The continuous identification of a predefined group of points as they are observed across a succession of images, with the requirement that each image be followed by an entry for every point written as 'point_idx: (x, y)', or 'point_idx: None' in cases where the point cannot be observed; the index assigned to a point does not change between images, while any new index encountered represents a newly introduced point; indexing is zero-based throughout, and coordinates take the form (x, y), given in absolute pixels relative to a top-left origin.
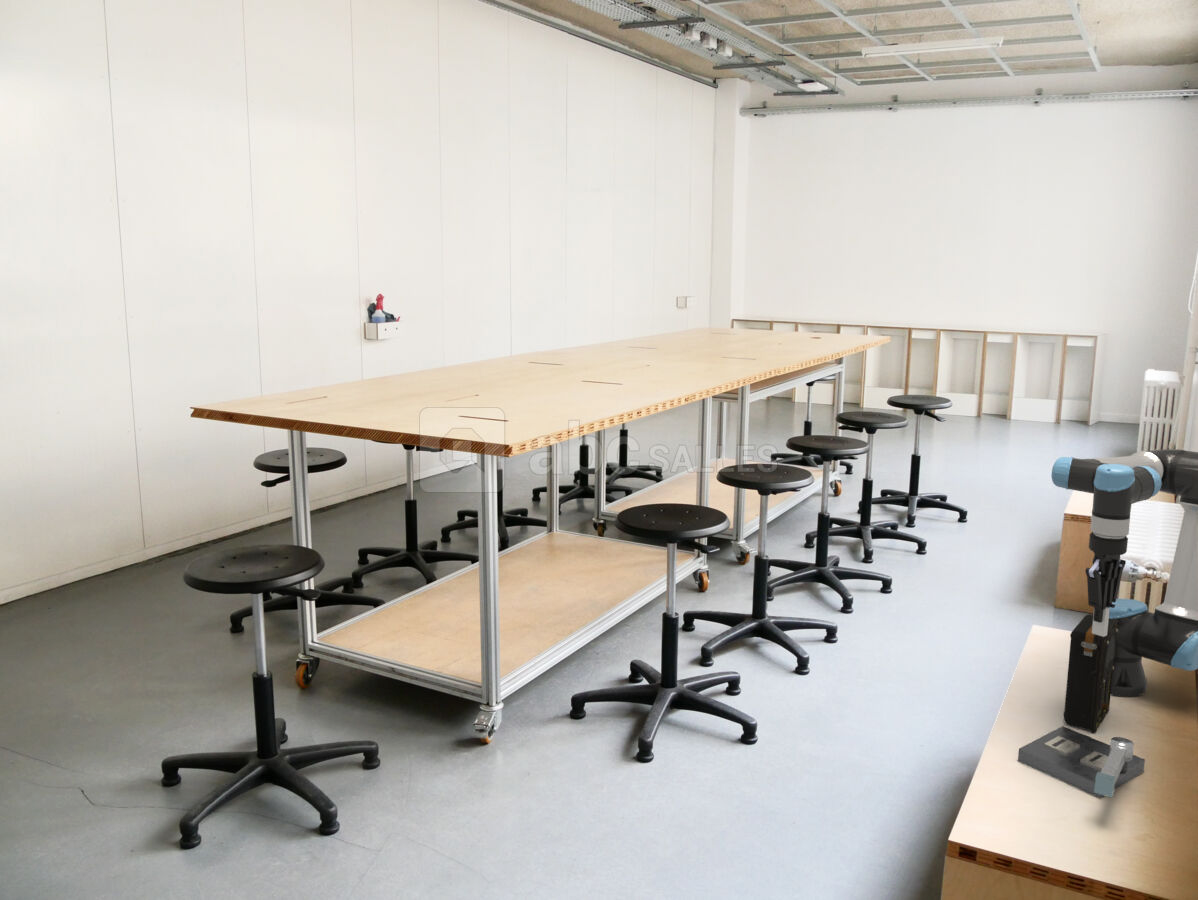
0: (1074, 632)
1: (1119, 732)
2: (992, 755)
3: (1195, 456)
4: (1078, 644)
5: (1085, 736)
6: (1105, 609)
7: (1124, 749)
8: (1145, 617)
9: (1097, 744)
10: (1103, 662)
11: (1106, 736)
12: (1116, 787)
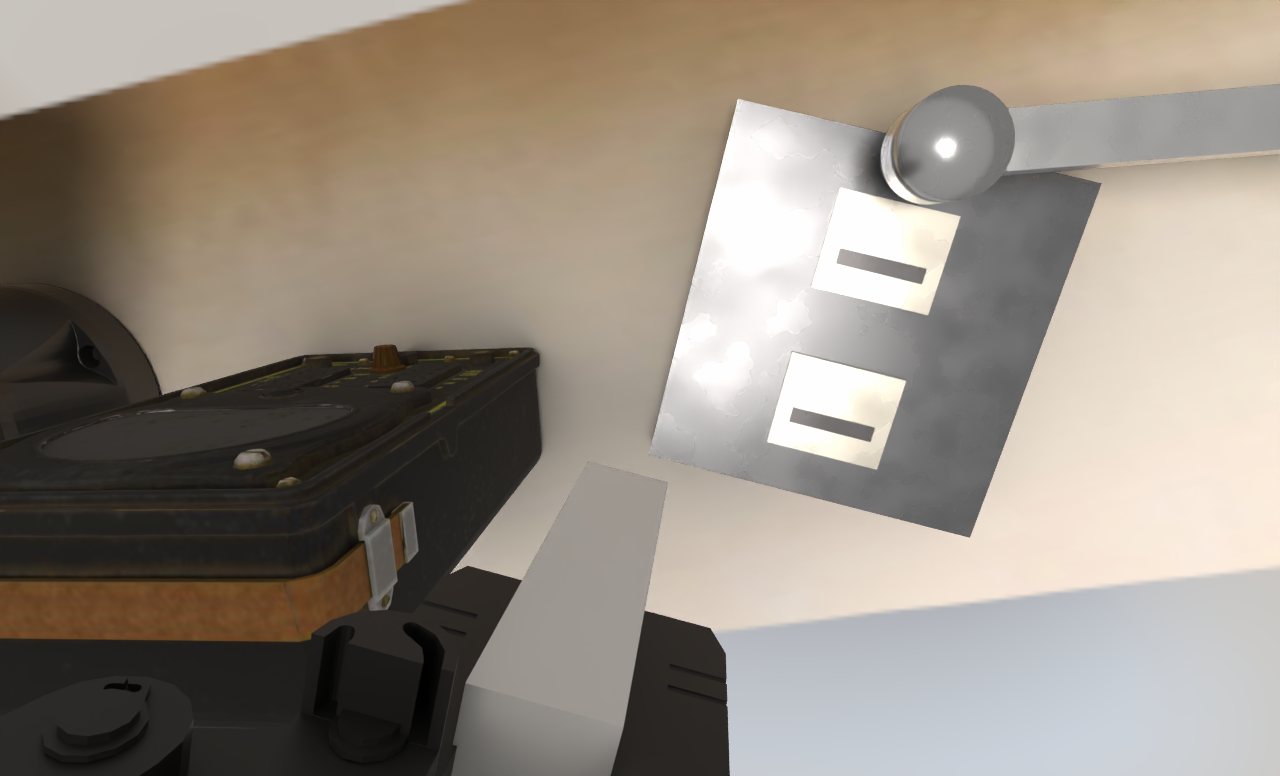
0: None
1: (456, 274)
2: (965, 598)
3: None
4: None
5: (685, 356)
6: (615, 737)
7: (1030, 113)
8: None
9: (726, 297)
10: (376, 423)
11: (526, 306)
12: None
